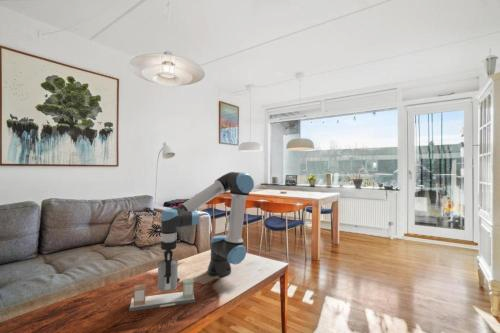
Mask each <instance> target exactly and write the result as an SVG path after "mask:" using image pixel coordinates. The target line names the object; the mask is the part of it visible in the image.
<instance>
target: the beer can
mask: <svg viewBox="0 0 500 333" xmlns="http://www.w3.org/2000/svg"><path fill="white" fill-rule="evenodd" d="M178 263H179V261H178V260H177V259H173V258H172V262H171V289H169V290H165V277H164V276H165V273H166V262H165V259H163V260H160V261H158V263H157V265H158V266H157V290H158V291H160V292H170V291H174V290H175V289H177V287H178V269H179V268H178Z"/></svg>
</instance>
